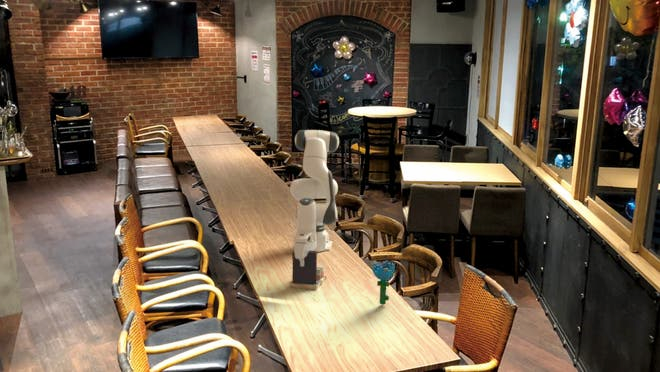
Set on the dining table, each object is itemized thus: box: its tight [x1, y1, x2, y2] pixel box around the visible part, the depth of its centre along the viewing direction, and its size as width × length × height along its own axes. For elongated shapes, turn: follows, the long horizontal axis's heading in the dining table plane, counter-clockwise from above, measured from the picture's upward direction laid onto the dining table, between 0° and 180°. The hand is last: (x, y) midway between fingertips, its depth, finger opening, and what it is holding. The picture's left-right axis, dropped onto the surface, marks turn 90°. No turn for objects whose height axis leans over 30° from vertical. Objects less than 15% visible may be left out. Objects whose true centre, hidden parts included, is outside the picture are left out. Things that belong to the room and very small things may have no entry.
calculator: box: [291, 250, 318, 284], centre depth 273 cm, size 11×4×15 cm, turn 89°
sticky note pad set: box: [289, 265, 328, 291], centre depth 279 cm, size 15×13×7 cm
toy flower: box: [372, 260, 396, 306], centre depth 255 cm, size 9×9×18 cm
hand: (306, 262), depth 275 cm, fingers open, 8 cm apart
